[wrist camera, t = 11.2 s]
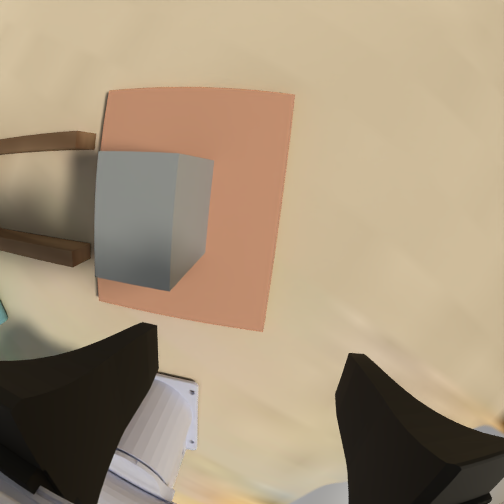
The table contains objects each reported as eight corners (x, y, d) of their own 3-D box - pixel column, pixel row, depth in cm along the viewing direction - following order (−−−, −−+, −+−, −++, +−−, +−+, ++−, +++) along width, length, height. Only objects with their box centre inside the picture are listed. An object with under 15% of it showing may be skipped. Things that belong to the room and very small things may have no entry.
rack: (90, 258, 22) (60, 273, 18) (-18, 235, 22) (-44, 244, 19) (96, 133, 19) (63, 129, 15) (-17, 145, 20) (-45, 146, 16)
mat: (263, 327, 22) (262, 331, 21) (102, 297, 22) (98, 300, 22) (294, 97, 18) (294, 94, 17) (113, 92, 18) (109, 90, 18)
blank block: (205, 252, 20) (169, 291, 13) (149, 244, 20) (95, 277, 13) (214, 160, 18) (179, 153, 12) (155, 156, 19) (98, 151, 12)
